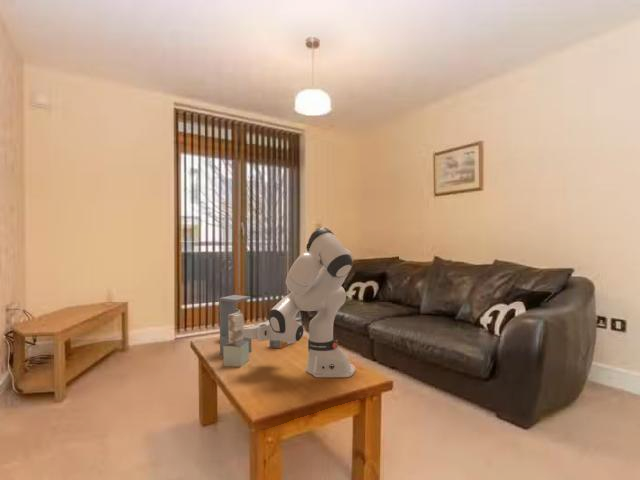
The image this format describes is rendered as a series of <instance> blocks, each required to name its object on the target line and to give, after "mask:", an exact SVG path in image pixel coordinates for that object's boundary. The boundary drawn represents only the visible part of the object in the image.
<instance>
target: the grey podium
mask: <svg viewBox="0 0 640 480" xmlns="http://www.w3.org/2000/svg"><path fill="white" fill-rule="evenodd" d="M251 297H252V296H247V295H238V294H232V295H228V296H221V297H219V299H218V302H219V303H218V304H219V306H218V309H219V355H223V356H224V353H223V346H224V345H225V344H226V343H228V342H229V323H228V315H230V314H234V313H236V309H237V307H236V306H237V305H236V304H237V303H239V302H244V301H247V300H251V299H252V298H251ZM244 341H249V353H251V352H252V339H249V338H245V337H244Z"/></svg>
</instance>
